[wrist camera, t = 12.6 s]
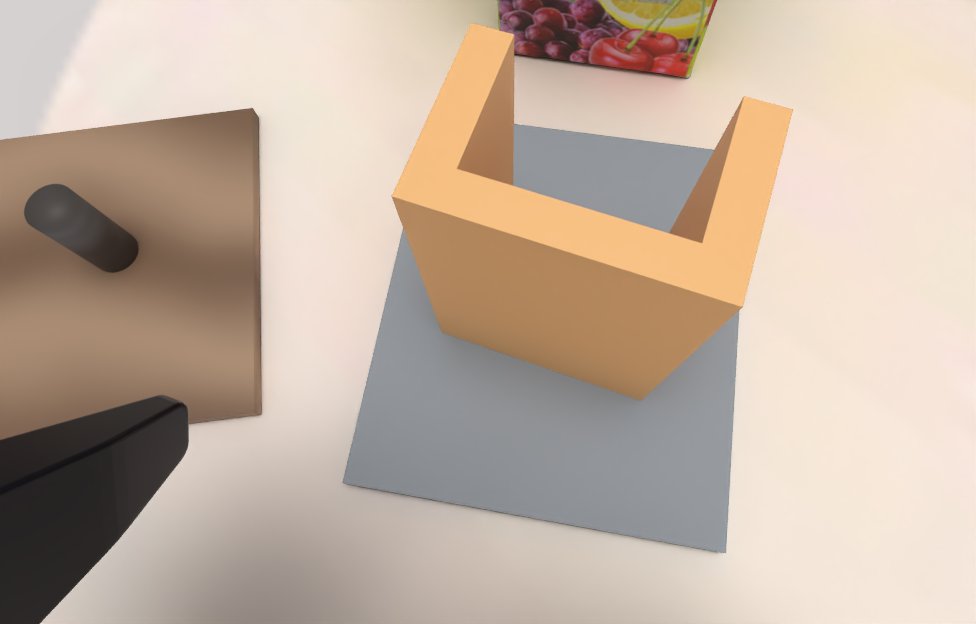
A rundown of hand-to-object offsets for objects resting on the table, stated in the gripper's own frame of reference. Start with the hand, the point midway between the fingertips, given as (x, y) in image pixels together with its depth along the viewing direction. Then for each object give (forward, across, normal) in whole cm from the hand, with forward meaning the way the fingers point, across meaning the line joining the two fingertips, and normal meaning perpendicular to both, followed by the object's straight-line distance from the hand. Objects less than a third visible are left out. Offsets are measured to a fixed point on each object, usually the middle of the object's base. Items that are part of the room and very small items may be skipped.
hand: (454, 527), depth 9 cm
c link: (+13, 0, +2) cm, 13 cm away
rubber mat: (+14, 0, +3) cm, 14 cm away
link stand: (+11, +16, +5) cm, 20 cm away
